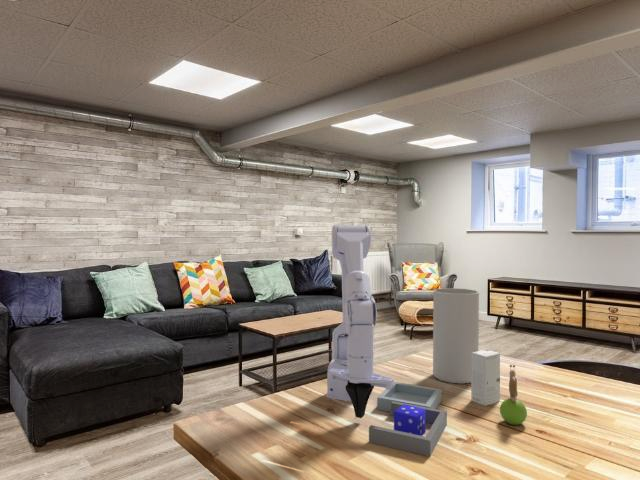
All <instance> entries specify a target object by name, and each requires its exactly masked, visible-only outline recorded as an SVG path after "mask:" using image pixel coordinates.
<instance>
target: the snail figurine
mask: <svg viewBox="0 0 640 480" xmlns="http://www.w3.org/2000/svg"><path fill="white" fill-rule="evenodd" d="M509 367H510V368H516V365H515V364H513V365H512V364H509ZM508 373H509V383H508V390H509V391H508V392H509V396H510V397H509V398H507V399H504V400H503V401H502V402H501V403H500V406H499V413H500V416H501V418H502V419H503V420H504V421H505V422H506V423H507V424H510V425H514V426H518V425H521V424H523V423H524V422H525V421H526V419H527V417H528V411H527V407H526V406H525V404H524V403H523V402H522V401H521V400H519V399H518V380H517V377H516V371H515V369H510V371H509V372H508Z"/></svg>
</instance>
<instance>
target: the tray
mask: <svg viewBox="0 0 640 480" xmlns="http://www.w3.org/2000/svg"><path fill="white" fill-rule="evenodd" d="M376 399H377V401H376V408H377V410H381V411H385V412H390V413H391V403H392V402H393V401H395V402H400V403H406V404H411V405H417V406H422V407H427V408H433V409H437V408H438V407H439V405H440V404H441V403H442V388H435V387H429V386H423V385H418V384H417V385H416V384H410V383H405V382H404V383H403V382H398V381H393V388H392V389H391V390H388V389H386V388H384V390H383V391H382V392H381V393H380V394H379V395H378V396H377V398H376Z"/></svg>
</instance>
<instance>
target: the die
mask: <svg viewBox="0 0 640 480" xmlns="http://www.w3.org/2000/svg"><path fill="white" fill-rule="evenodd" d="M425 421H426V410H425V409H423V408H419V407H414V406H410V405H406V404H403V405H402V406H401V407H399V408H398V409H397V410H396V411H394V416H393V430H396V431H401V432H406V433H410V434H415V435H420V436H423V435H424V434H425V433H426V423H425Z"/></svg>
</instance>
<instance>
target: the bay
mask: <svg viewBox="0 0 640 480" xmlns="http://www.w3.org/2000/svg"><path fill="white" fill-rule="evenodd" d="M403 404H406V403H400V402H395V401H393V402H392V403H391V412H390V416H391V417H394V411H396V410H397V409H398V408H399V407H401V406H402V405H403ZM406 405H410V406H414V407H419V408H423V409H425V410H426V421H425V424H429V425H432V426H431V427H430V428H429V430H428V432H427V434H426V435H425V436H423V435H422V436H420V435H415V434H410V433H406V432H401V431H396V430H394V429H392V428H386V427H381V426H378V425H371V424H370V425H369V427H368V443H371V444H374V445H378V446H383V447H386V448H392V449H394V450H395V449H396V450H400V451H404V452H408V453H413V454H417V455H422V456H427V457H431V456H432V454H433V452H434V451H435V449H436V447H437V444H438V442H439V440H440V439H441V436H442V435H443V433H444V431H445V429H446V428H447V426H448V420H447V418H448V411H447V410H444V409H443V410H442V409H437V408H436V409H433V408H427V407H422V406H417V405H411V404H406Z"/></svg>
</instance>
